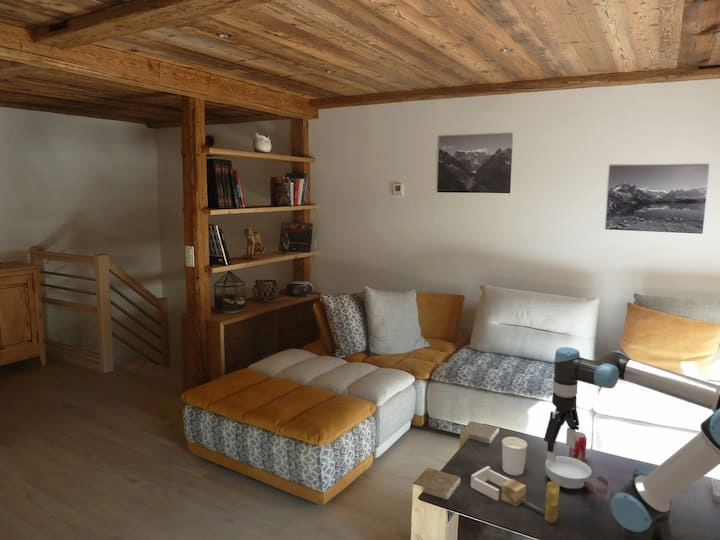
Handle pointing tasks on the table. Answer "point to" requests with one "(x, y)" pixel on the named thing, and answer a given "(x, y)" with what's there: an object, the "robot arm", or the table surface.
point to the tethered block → (516, 495)
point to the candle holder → (513, 455)
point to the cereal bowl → (568, 472)
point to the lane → (481, 486)
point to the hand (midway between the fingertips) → (560, 453)
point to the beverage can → (579, 447)
